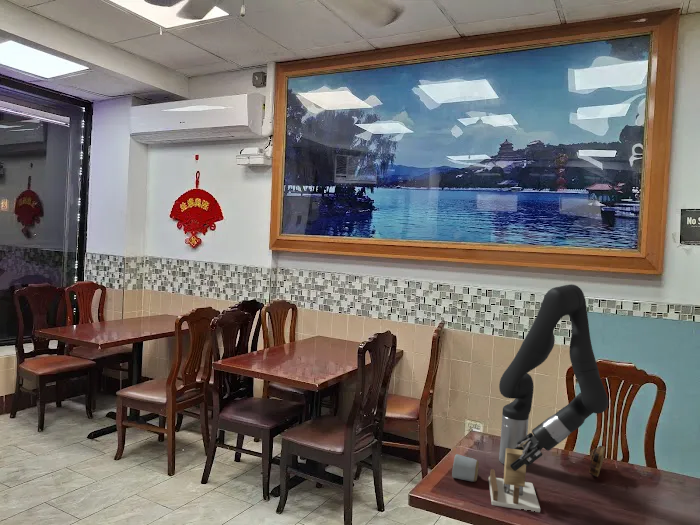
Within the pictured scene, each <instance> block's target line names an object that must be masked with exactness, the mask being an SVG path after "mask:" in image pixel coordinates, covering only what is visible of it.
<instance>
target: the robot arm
mask: <svg viewBox="0 0 700 525" xmlns="http://www.w3.org/2000/svg"><path fill="white" fill-rule="evenodd" d="M586 301H587V300H586V297H585V294H584V291H583V290H582V289H581V287H580V286H578V285H576V284H573V283H571V284H565V285H561V286H560V285H559V286H556V287H553V288H550V289H549V290H548V291H547V292H546V293H545V295H544V298H543V300H542V301H541V305H540V307H539V309H538V310H539V311H538V312H537V315H536V317H535V319H534V321H533V323H532V324H531V327H530V329H529V331H528V333H527V334H526V336H525V338H524V339H523V341H522V343H521V345H520V348H519V349H518V351H517V353H516V354H515V356H514V358H513V360H512V361H511V362H510V364H509V365H508V367H507V368H506V369H505V371H504V372H503V373H502V376H501V377H500V380H499V385H498V388H499V392H500V394H501V395H502V396H503V397H504V398H507V399H514V400H513V401H511V402H510V403H508V404H505V405H504V406H503V407H502V415H501V416H502V417H501V430H500V444H499V454H498V460H499V462H500V463H501V464H502V465H504V466H505V452H506V448H510V449H518V450H523V451H522V453H523V454H522V455H521V457H520V458H518V459H517V460H516V461H514V462H513V463H512V464H510V466H511V468H512V469H513V470H514V471H516V470H517V469H519V468H520V467H521V466H523V465H524V464H525V465H526V467H529V466H531V465H532V464H533V463H534V462H535V461H537V460H538V459H539V458H541V457H542V456H543V454H544V453H543V452H542V450H543V449H545V450H546V451H548V452H549V451H551V450H552V449H553V448H554V447H556V446H558V445H559V444H560V443H562V442H563V441H564V440H566V439H567V438H568V437H569V436H570V435H571V434H572V433H574V432H575V431H576V430H577V429H579V428H580V427H581V426H583V424H584V423H585V421H586V420H587V418H589V417H590V416H591V415H592V414H602V413H604V412H606V410H607V409H608V406H609V398H608V393H607V392H606V388H605V386H604V384H603V381H602V379H601V376H600V372H599V366H598V364H597V360H596V356H595V354H594V353H595V352H594V349H593V347H592V346H593V345H592V341H591V335H590V334H591V332H590V326H589V318H588V308H587V302H586ZM565 316H569V320H570V324H571V336H570V344H569V359H570V364H571V366H572V370H573V373H574V376H575V378H576V380H577V383H578V385H579V389H580V392H579V393H578V394H577V395H576V396H575V397H574V398H573V399H572V400H570V402H569V403H568V404H567V405H565V406H563V407H562V408H561V409H559V410H558V411H556V412H555V413H554V414H552V415H550V416H549V417H547V418H546V419H545V420H544V421H541V423H540V424H538V425H537V426H536V427H534V428H533V429H532V430H531V432H530V433H528V432H529V431H528V430H529V420H530V419H529V418H530V414H531V411H532V410H531V409H532V403H533V396H534V380H533V378H532V376H531V375H530V373H529V372H531V371H533V370H534V369H536V368H537V367H539V366H540V365H542V364H543V363H544V362H546V360H547V359H548V357H549V355H550V354H551V352H552V350H553V348H554V347H555V333H554V331H555V328H556V326H557V325H558V323H559V321H560V320H561V319H562V318H563V317H565Z"/></svg>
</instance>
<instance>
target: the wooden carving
mask: <svg viewBox="0 0 700 525" xmlns="http://www.w3.org/2000/svg"><path fill="white" fill-rule="evenodd" d="M605 449H606V447H605V446H603V445H599V446H597V448H594V449H592V450H590V453H589V457H590V458H589V459H590V464H589V470H588V472H589V475H592V476H594V477H597V478H598V477H599V476H600V473H601V472H600V471H601V469H602V467H603V466H602V465H603V463H604V458H605V451H606V450H605Z"/></svg>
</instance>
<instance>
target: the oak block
mask: <svg viewBox="0 0 700 525" xmlns="http://www.w3.org/2000/svg"><path fill="white" fill-rule="evenodd" d="M522 451H523V450H518V449H510V448H506V452H505V465H504V469H503V479H504V483H505V484H509V485H516V486H523V487H525V482H526V473H527V465H525V464H524V465H523V466H521V467H520V468H519V469H517V470H516V471H514V470H513V469H512V468H511V466H510V464H512V463H513V462H514V461H516V460H517V459H518V458H520V457H521V455H522V454H523V453H522Z"/></svg>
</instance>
